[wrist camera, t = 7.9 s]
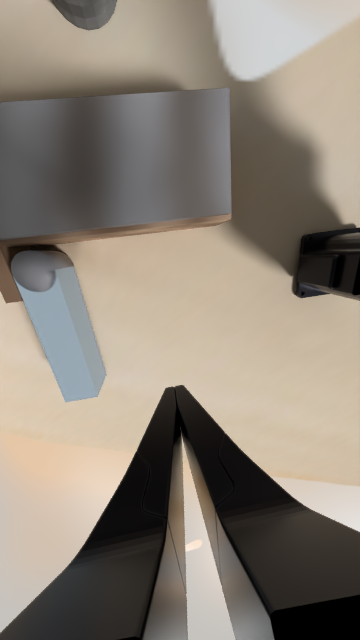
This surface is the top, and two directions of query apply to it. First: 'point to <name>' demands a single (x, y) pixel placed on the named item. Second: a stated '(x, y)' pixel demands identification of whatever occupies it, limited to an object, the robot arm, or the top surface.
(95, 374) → the bar
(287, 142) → the top surface
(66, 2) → the beverage cup
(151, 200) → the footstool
